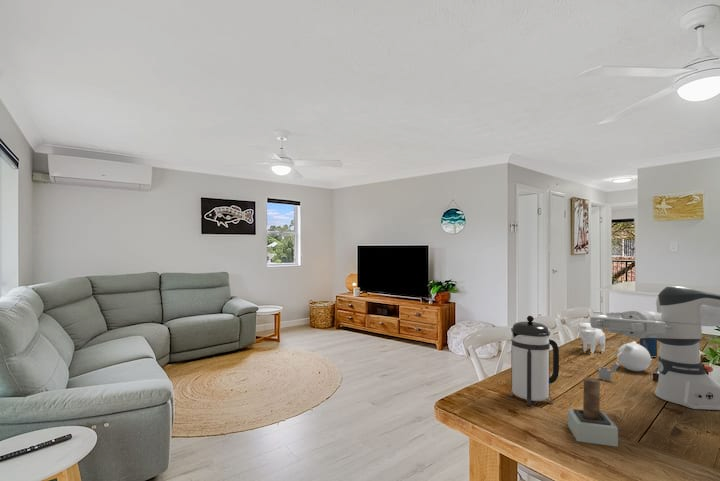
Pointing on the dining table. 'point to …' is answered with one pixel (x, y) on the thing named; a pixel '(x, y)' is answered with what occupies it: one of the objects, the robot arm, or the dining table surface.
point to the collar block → (592, 428)
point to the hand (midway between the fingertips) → (613, 325)
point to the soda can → (649, 345)
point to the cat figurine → (591, 336)
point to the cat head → (634, 357)
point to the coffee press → (532, 361)
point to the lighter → (607, 372)
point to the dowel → (591, 399)
